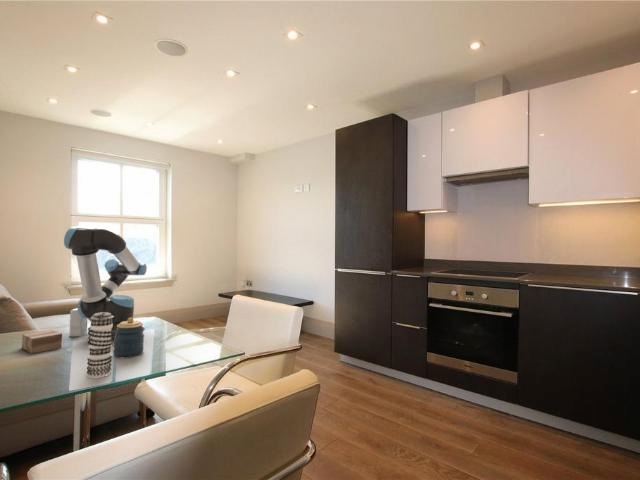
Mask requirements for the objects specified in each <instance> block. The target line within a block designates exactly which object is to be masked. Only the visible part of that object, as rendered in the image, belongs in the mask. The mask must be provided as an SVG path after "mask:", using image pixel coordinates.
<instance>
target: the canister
mask: <svg viewBox="0 0 640 480" xmlns="http://www.w3.org/2000/svg"><path fill="white" fill-rule="evenodd" d="M117 327H118V328H117V329H115V330H114V332H115V333H116V334H115V337H114V341H113V353H112V354H113V356H114V357H115V358H119V357H123V358H122V359H124V358H127V357H128V358H134V357H137V356H141V355H142V354H143V353H144V350H145V349H144V343H145V342H144V341H145V334H144V331H145V327H144V323H143V322H141V321H140V320H134V317H133V318H128V320H127V321H124V322H121V323H120V324H118V325H117Z"/></svg>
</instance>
